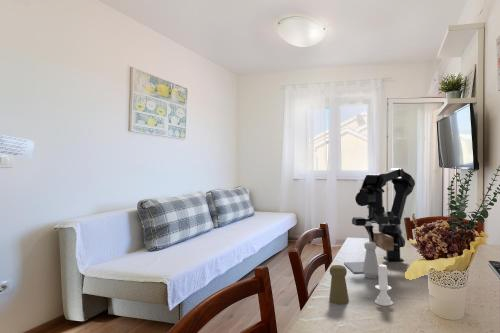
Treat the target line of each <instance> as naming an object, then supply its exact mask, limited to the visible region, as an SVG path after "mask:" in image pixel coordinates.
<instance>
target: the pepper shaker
mask: <svg viewBox="0 0 500 333" xmlns="http://www.w3.org/2000/svg"><path fill="white" fill-rule="evenodd" d="M329 275H330V276H331V280H330V291H329V299H328V300H330V301H331V302H332V304H334V303H336V304H335V305H346V304H349V302H350V298H349V293H348V287H347V281H346V276H347V268H346V267H345V266H344V265H342V264H333V265H331V266H330V268H329ZM330 301H329V302H330ZM331 302H330V303H331Z"/></svg>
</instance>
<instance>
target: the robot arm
mask: <svg viewBox="0 0 500 333" xmlns="http://www.w3.org/2000/svg"><path fill="white" fill-rule="evenodd" d="M388 182H391V183H392V185H393V189H394V191H395V195H394V198H393V200H392V206H391V209H390V211H389V210H388V211H385V206H384V204H383V203H384V201H383V200H384V199H383V193H385V190H384V189H383V188H384V187H385V186H386V185H387V183H388ZM415 186H416V182H415V179H414V178H413V176H412V174H409V173H407V172H406V171H405V170H404V169H403V168H401V167H400V168H399V167H395V168H394V167H392V168H391V169H388V170H385V171H383V172H380V173H367V174H366V175H365V177H364V179H363V182H362V185H361V187H360V188H359V192H357V193H356V195H355V203H356V204H357V205H358V206H360V207H365V206H367V207H366V208H367V210H368V215H367V218H365V217H362V216H356V217H355V216H354V217H352V219H351V224H352V225H354V226H358V227H361V226H362V227H364V228H365V230H366V233H367V234H368V237H370V239H371V241H372V242H373V230H374V225H372V224H377V225H378V231H379V232H382V233H384V234H386V235H389V236H391V237H393V244H394V250H393V251H386V252H385V254H386V256H383V259H384V260H386V261H388V262H401V261H402V262H403V261H404V259H403V258H402V257H401V248H404V247H405V245H406V239H405V238H404V237H403V235H402V234H403V233H402V232H403V231H402V229H401V223H402V222H401V220H402V217H403V213H404V210H405V204H406V201H407V198H408V196H409V195H410V194H411V193H413V190H414V188H415Z"/></svg>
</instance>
